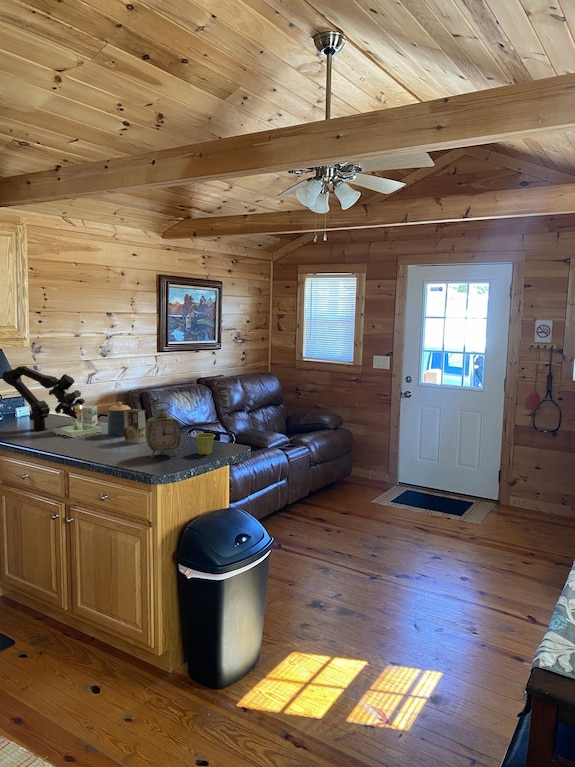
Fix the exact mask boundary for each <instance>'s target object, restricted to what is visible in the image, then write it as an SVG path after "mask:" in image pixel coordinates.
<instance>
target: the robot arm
mask: <svg viewBox="0 0 575 767" xmlns="http://www.w3.org/2000/svg"><path fill="white" fill-rule="evenodd" d="M22 376H24V377H27V378H29V379H32V380H34V381H36V382H38V383H39V384H40V386H42V387H44V388H45V389H48V390H49V392H48V395H49V396H54V397H55V398H56V400H57V403H58V404H57V406H56V407H55V408H54V412H55V413H56V414H63V415H66V416H69V417H70V418H72V419H73V418H75V419H77V416H76V414H75V413H74V411H73V405H76V404H80V405H83V404H84V403H86V401H85V399H84V398H81V394H82V393H81V391H80V390H79V389H76V390H73V391H72V392H71V393H69V392H66V391H68V390H69V389H70V388H71V387H72V386H73V384H74V383H75V379H74V378H73V377H72V376H70V375H68V374H66V373H64V374H63V375H62V376H61V377H60V378H57V376H52V375H46V374H43V373H41V372H38V371H37V370H34V369H32V368H30V367H27V366H26V365H21V366H18V367H16V368H14V369H10V370H6V371H3V373H2V377H1V378H2V380H3V381H4V383H6V384H7V385H10V386H11V387H13V388H14V389H15V390H16V392H18V393H19V394H20V395H21V397H22V398H23V399H24V400H25V401H26V402H27V404H28V405H29V406H30V409H31V410H30V411H31V413H30V414H29V415H28V418H29V420H30V421H32V427H33V428H30V430H31V431H34V432H41V431H46V430H48V428H46V420H45V419H46V418H48V416H49V414H50V411H51V408H50V407H49V404H47V402H46V401H45V400H39V399H38V398H37V397H36V396H35V395H34V394H33V392H32V391H31V390H30V389H29V388H28V387H27V386H26V384H24V382H23V381H22ZM51 388H52V389H51ZM83 416H84V415H83Z"/></svg>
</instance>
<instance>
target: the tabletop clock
mask: <svg viewBox="0 0 575 767" xmlns="http://www.w3.org/2000/svg"><path fill="white" fill-rule="evenodd" d="M160 404H161V405H162V404H167V405H168V408H165V409H164V407H161V408H160V409H158V408H157V406H158V405H160ZM169 409H171V405H170V403H168V402H166V401H158V402H157V403H155V405H154V410H156V411H157V412H158V413H156V416H153V417H149V418H148V419H146V432H145V433H146V441H145V442H146V443H147V446H148V447H149V449H150V450H152V453H151V454H150V458H152V459H153V458H154V457H155V455H154V454H155V451H156V452H157V451H158V452H159V451H160V452H159V454H160V455H161V456H162V455H164V451H169V450H172V452H173V456H175V457H176V456H178V452H177V451H176V450H175V449H177V448H179V445H180V443H181V427H180V422H179V420H178V419H177V418H175V417H174V416H171V415H170V416H169V415H168V413H167V412H166V411H168V410H169Z"/></svg>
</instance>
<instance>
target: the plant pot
mask: <svg viewBox="0 0 575 767" xmlns="http://www.w3.org/2000/svg"><path fill="white" fill-rule="evenodd" d="M215 437H216V435H215V434H214V433H205V432H202V433H197V434H194V438H195V441H196V446H197V447H196V448H197V454H199V455H200V456H202V455H206V456H208V455H211V454H212V450H213V444H214V440H215V439H214V438H215Z"/></svg>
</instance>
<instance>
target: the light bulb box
mask: <svg viewBox="0 0 575 767" xmlns="http://www.w3.org/2000/svg"><path fill="white" fill-rule="evenodd" d="M97 407H98V406H96V405H95V406H94V405H92V406H91V405H83V415H84V416H83V424H89V425H94V426H97V425H98V408H97ZM96 424H97V425H96Z"/></svg>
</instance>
